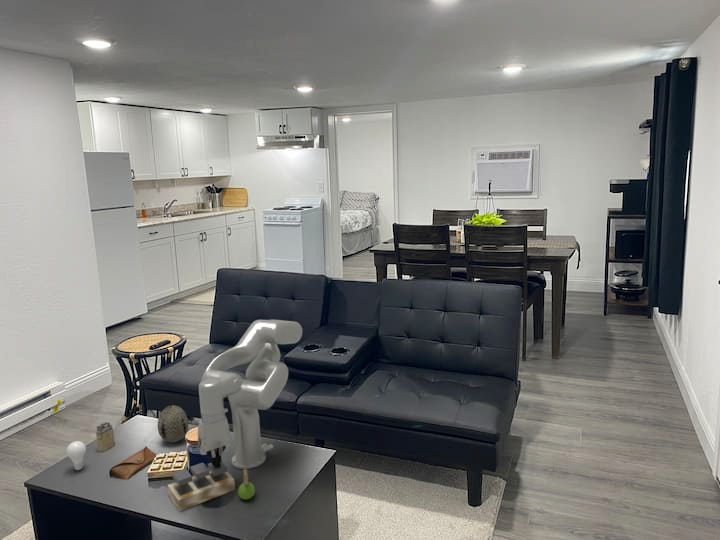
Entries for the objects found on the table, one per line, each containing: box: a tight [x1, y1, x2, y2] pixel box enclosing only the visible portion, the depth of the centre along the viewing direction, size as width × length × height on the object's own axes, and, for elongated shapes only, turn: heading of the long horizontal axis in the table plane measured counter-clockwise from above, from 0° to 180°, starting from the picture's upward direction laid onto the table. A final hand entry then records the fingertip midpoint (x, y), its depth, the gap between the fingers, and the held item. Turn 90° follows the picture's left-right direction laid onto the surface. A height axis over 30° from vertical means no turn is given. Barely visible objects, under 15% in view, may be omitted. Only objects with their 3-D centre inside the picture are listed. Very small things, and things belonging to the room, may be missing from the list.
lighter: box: [95, 421, 116, 452], centre depth 220 cm, size 7×4×10 cm, turn 156°
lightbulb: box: [66, 440, 87, 471], centre depth 204 cm, size 6×6×11 cm
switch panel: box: [167, 471, 236, 512], centre depth 188 cm, size 19×11×4 cm, turn 126°
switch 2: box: [207, 461, 228, 476], centre depth 191 cm, size 4×6×3 cm
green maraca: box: [237, 468, 256, 500], centre depth 183 cm, size 5×6×12 cm
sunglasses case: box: [108, 446, 158, 481], centre depth 207 cm, size 18×7×7 cm, turn 156°
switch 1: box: [172, 468, 193, 486], centre depth 184 cm, size 4×6×3 cm
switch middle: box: [190, 462, 210, 479], centre depth 187 cm, size 4×6×3 cm
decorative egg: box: [157, 404, 189, 443], centre depth 223 cm, size 12×12×15 cm
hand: (216, 465), depth 191 cm, fingers closed
